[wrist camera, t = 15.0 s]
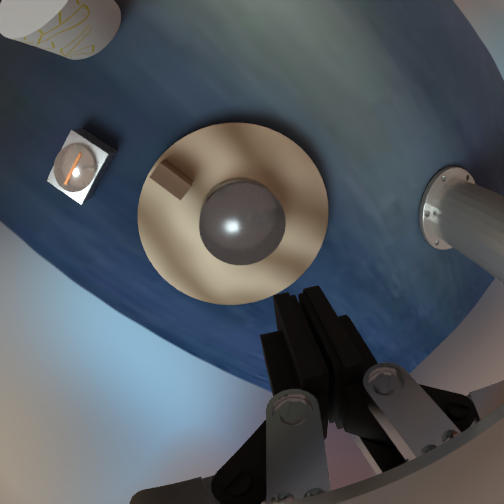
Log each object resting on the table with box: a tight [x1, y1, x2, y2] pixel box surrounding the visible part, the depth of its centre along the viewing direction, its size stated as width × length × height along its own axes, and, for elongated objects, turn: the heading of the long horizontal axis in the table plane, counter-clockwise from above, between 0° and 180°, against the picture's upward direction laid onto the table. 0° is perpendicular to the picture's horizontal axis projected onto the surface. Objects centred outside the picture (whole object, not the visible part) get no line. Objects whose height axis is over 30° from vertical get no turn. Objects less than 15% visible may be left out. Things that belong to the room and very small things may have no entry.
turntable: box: [138, 123, 328, 305], centre depth 29 cm, size 20×20×4 cm
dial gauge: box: [47, 129, 117, 205], centre depth 25 cm, size 6×5×4 cm
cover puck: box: [199, 177, 286, 265], centre depth 28 cm, size 8×8×3 cm
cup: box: [0, 0, 121, 60], centre depth 15 cm, size 8×8×12 cm
